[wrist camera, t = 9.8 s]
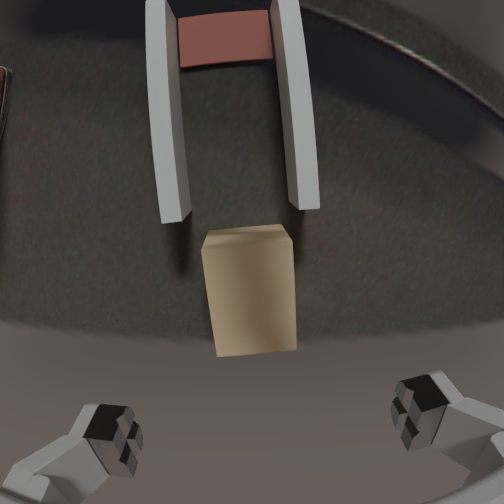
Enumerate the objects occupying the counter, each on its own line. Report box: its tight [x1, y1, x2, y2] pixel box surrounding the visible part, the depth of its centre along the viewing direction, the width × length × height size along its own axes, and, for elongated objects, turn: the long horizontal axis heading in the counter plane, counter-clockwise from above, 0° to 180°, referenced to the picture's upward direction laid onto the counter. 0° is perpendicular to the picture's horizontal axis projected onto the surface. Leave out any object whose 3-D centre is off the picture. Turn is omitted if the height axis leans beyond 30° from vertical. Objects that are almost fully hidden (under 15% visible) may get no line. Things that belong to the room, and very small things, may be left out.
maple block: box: [201, 224, 297, 357], centre depth 21 cm, size 5×7×5 cm
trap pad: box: [178, 10, 273, 68], centre depth 18 cm, size 6×4×1 cm, turn 95°
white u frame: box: [146, 0, 320, 223], centre depth 18 cm, size 9×14×4 cm, turn 5°
